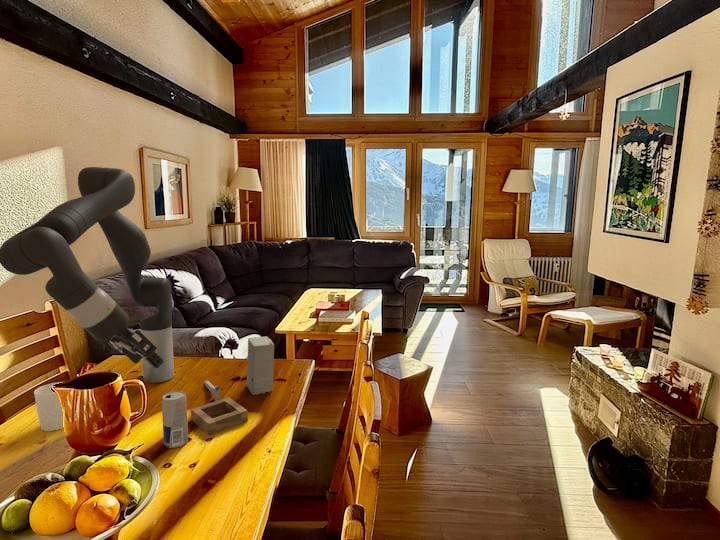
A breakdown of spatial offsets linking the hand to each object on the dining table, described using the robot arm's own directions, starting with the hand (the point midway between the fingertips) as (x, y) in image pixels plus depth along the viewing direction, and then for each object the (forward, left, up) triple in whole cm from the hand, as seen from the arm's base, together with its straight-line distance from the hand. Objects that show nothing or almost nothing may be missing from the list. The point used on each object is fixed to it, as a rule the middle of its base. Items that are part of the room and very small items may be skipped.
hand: (149, 362), depth 95 cm
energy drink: (0, +5, -21) cm, 22 cm away
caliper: (-19, +23, -22) cm, 37 cm away
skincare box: (-13, +36, -21) cm, 44 cm away
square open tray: (-3, +17, -21) cm, 27 cm away
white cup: (-29, -14, -21) cm, 38 cm away
